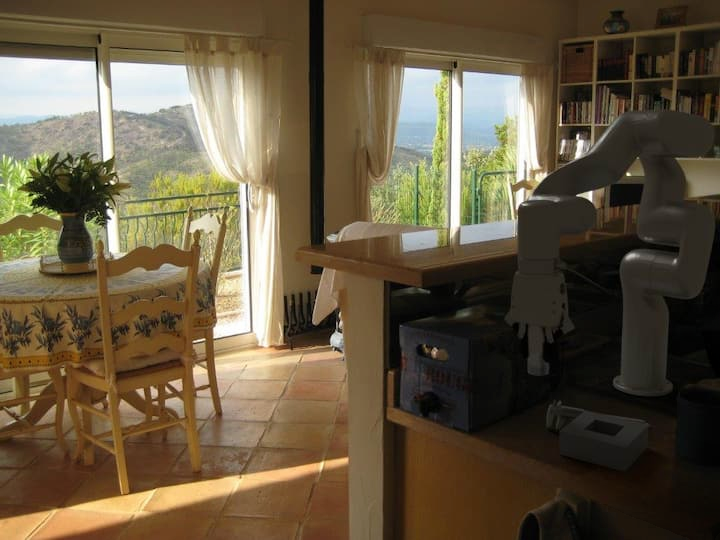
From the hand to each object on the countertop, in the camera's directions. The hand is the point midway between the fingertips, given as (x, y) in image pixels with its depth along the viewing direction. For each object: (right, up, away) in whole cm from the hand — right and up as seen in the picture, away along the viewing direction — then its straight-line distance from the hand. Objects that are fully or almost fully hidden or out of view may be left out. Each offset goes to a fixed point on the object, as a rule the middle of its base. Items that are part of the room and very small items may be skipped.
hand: (538, 357), depth 140 cm
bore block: (+10, -16, -7) cm, 20 cm away
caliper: (+13, -15, +3) cm, 20 cm away
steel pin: (0, -3, +1) cm, 3 cm away
